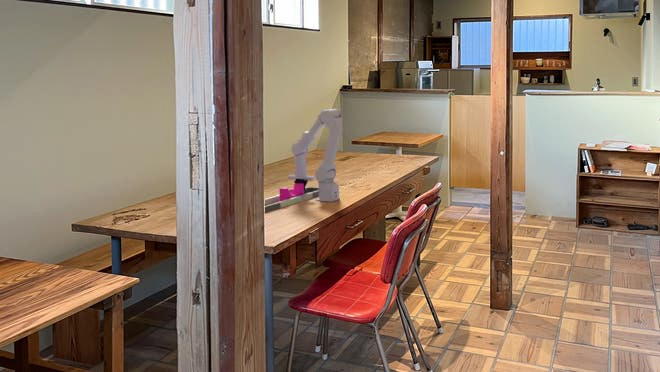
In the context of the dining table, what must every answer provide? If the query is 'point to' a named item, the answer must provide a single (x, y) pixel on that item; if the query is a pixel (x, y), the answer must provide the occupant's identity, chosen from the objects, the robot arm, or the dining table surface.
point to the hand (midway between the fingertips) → (301, 194)
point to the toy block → (291, 192)
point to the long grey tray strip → (308, 193)
